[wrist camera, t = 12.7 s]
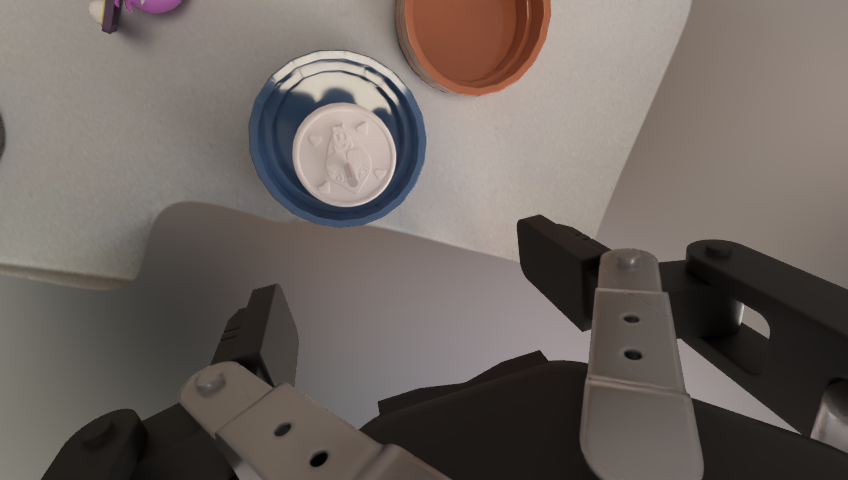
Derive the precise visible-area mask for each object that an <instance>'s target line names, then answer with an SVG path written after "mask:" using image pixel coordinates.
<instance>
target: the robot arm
mask: <svg viewBox="0 0 848 480" xmlns="http://www.w3.org/2000/svg"><path fill="white" fill-rule="evenodd" d="M3 143H4V134H3V127H2V123H1V120H0V156H1V153H2V149H3ZM517 235H518V246H519V256H520V264H521V268H522V271H523V273H524V275H525V277H526V278H527V279H528V280H529V281H530V282H531V283H532V284H533V285H534V286H535V287H536V288H537V289H538V290H539V291H540V292H541V293H542V294H544V295H545V297H547V298H548V299H549V300H550V301H551V302H552V303H553V304H554V305H555V306H556V307H557V308H558V309H559V310H560V311H561V312H562V313H563V314H564V315H565V316H566V317H567V318H568V319H570V321H571V322H573V323H574V324H575V325H576V326H577V327H578V328H579V329H580V330H581V331H582V332H584V331H587V330H590V329H592V330H591V341H590V352H589V362H588V364H587V363H582V362H576V361H565V360H560V361H559V360H558V361H557V360H556V361H548V360H547V359H546V357H545V356H544V355H543V354H542V352H541V351H540V350H538V351H535V352H532V353H529V354H526V355H523V356H519V357H516V358H513V359H510V360H507V361H504V362H501V363H499V364H498V365H496V366H494V367H492V368H490V369H489V370H487V371H485V372H483V373H482V374H480V375H478V376H476V377H474V378H473V379H471V380H469V381H467V382H465V383H460V384H452V385H443V386H434V387H426V388H419V389H415V390H412V391H409V392H406V393H403V394H400V395H397V396H393V397H390V398H387V399H384V400H381V401H378V407H379V412H380V415H379V416H377V417H375V418H374V419H372V420H371V421H370V422H368V423H367V424H365V425H364V426H363V427H362V428H360V429H359V430H358V429H356V428H355V427H353V426H351V425H350V424H349V423H347V422H346V421H344V420H343V419H341V418H340V417H338V416H337V415H335V414H334V413H332V412H331V411H329V410H328V409H326V408H325V407H323V406H322V405H320V404H319V403H317V402H316V401H314V400H313V399H311V398H310V397H308V396H306V395H305V394H304V393H302V392H300V391H299V390H297V389H296V388H294V385H295V374H296V365H297V355H298V345H299V342H298V341H299V340H298V333H297V329H296V325H295V323H294V320H293V317H292V315H291V312H290V309H289V307H288V304H287V301H286V299H285V296H284V293H283V291H282V289H281V287H280V285H279V284H273V285H270V286H266V287H262V288H258V289H255V290H253V291H252V294H251V297H250V300H249V303H248V305H247V307H246V308H243V309H239V310H238V311H237V312H236V313H235V314H234V315H233V316H232V317H231V318H230V319H229V320H228V323H227V325H226V327H225V330H224V333H223V335H222V337H221V340H220V341H221V342H220V343H219V345H218V347H217V350H216V352H215V355H214V357H213V359H212V362H211V364H210V366H209V367H207V368H205V369H203V370H201V371H200V372H198V373H196V374H195V375H194V376H192V377H191V378H190V379H189V380H188V381H187V382H186V383H185V384H184V385H183V386H182V388H181V389H180V391H179V394H178V400H179V403H177V404H175V405H173V406H172V407H170V408H168V409H166V410H164V411H162V412H159V413H158V414H156V415H153V416H151V417H149V418H147V419H145V420H143V421H141V419H140V418H139V416H138V415H137V413H136V412H135V411H134V410H132V409H120V410H116V411H112V412H110V413H107V414H105V415H103V416H100V417H99V418H97V419H95V420H93V421H92V422H90V423H88V424H87V425H85V426H84V427H82V428H81V429H80V430H79V431H77V432H76V433H75V434H74V435H73V436H72V437H71V438H70V439H69V440H68V441H67V442H66V443H65V444H64V446H63V447H62V448H61V450H60V452H59V453H58V455H57V456H56V458H55V459H54V461H53V462H52V464H51V465H50V467H49V468H48V470H47V471H46V473H45V474H44V476H43V477H42V479H41V480H848V290H847V289H845V288H843V287H840V286H838V285H836V284H833V283H831V282H828V281H826V280H824V279H822V278H819V277H816V276H814V275H812V274H810V273H807V272H805V271H803V270H800V269H798V268H796V267H793V266H791V265H788V264H786V263H784V262H781V261H779V260H777V259H774V258H772V257H770V256H767V255H765V254H762V253H760V252H758V251H755V250H753V249H751V248H748V247H746V246H744V245H741V244H738V243H735V242H731V241H725V240H700V241H696V242H694V243H691V244H690V245H688V246H687V250H686V260H680V261H670V262H658V260H657V258H656V257H655V256H654V255H652V254H650V253H648V252H646V251H642V250H638V249H629V248H626V249H625V248H624V249H615V250H611V249H609V248H607V247H605V246H604V245H602V244H600V243H599V242H597V241H595V240H594V239H590V237H588V236H587V235H585V234H582V233H581V232H580V231H578V230H576V229H574V228H573V227H569V226H565V225H561V224H556V223H554V222H552V221H551V220H549V219H547V218H546V217H544V216H542V215H536V216H532V217H528V218H524V219H521V220H519V221H518V222H517ZM744 305H746V306H748V307H750V308H751V309H753V310H755V311H757V312H758V313H760V314H761V315H762V316H763V317H764V318H765V319H766V321H767V322H768V325H769V327H770V337H769V339H768V338H766V337H765V336H763V335H761V334H760V333H758V332H756V331H755V330H753V329H752V328H750V327H748V326H747V325H745V324H744V323H742V322H741V320H742V314H743V308H744ZM677 339H682V340H683V341H684V342H685V343H686V344H688V345H689V346H690V347H691V348H693V349H694V350H695V351H696V352H698V353H699V354H700V355H702V356H703V357H704V358H705V359H707V360H708V361H709V362H710V363H712V364H713V365H714V366H716V367H717V368H718V369H719V370H721V371H722V372H723V373H725V374H726V375H727V376H728V377H730V378H731V379H732V380H733V381H735V382H736V383H737V384H738V385H740V386H741V387H742V388H743V389H745V390H746V391H747V392H749V393H750V394H751V395H752V396H754V397H755V398H756V399H757V400H759V401H760V402H761V403H763V404H764V405H765V406H766V407H768V408H769V409H770V410H771V411H773V412H774V413H775V414H777V415H778V416H779V417H780V418H782V419H783V420H784V421H785V422H787V423H788V424H789V425H790V426H792V427H793V428H794V429H795V430H797V431H798V432H800V433H801V434H802V435H801V434H798V433H795V432H792V431H789V430H786V429H783V428H780V427H777V426H774V425H771V424H768V423H765V422H762V421H759V420H756V419H753V418H750V417H747V416H744V415H741V414H738V413H735V412H732V411H730V410H726V409H724V408H721V407H718V406H715V405H711V404H709V403H705V402H702V401H700V400H697V399H693V398H691V397H690V395H689V394H688V393H687V392H686V389H685V384H684V378H683V373H682V367H681V362H680V356H679V350H678V345H677Z"/></svg>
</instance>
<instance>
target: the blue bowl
mask: <svg viewBox="0 0 848 480" xmlns="http://www.w3.org/2000/svg"><path fill="white" fill-rule="evenodd" d="M342 102H345V103H351V104H356V105H360V106H362V107H364V108H366V109H368V110H370V111H372V112H373V113H374V114H375V115H376V116H377V117H379V118H380V119H381V120H382V121H383V123H384V124H385V126H386V127H387V129H388V130H389V132H390V134H391V136H392V138H393V141H394V145H395V149H396V165H395V170H394V173H393V176H392V178H391V180H390V182H389V184H388V185H387V187H386V188H385V189H384V190H383V192H382V193H381V194H379V195H378V196H377V197H376V198H374V199H373V200H371V201H369V202H367V203H365V204H362V205H358V206H352V207H340V206H334V205H330V204H327V203H325V202H323V201H321V200H319V199H317V198H316V197H315V196H313V195H312V194H311V193H310V192H309V191H308V190H307V189H306V188H305V187H304V186H303V184H302V183H301V181H300V180H299V178H298V176H297V174H296V171H295V168H294V163H293V156H292V152H293V141H294V138H295V135H296V132H297V130H298V128H299V126H300V125H301V123H302V122H303V121H304V119H305V118H306V117H307V116H308V115H310V114H311V113H312V112H314V111H315V110H316V109H318V108H320V107H323V106H325V105H328V104H331V103H342ZM249 146H250V154H251V157H252V160H253V162H254V165H255V168H256V171H257V174H258V176H259V178H260V180H261V181H262V182H263V184H264V185H265V187H266V188H267V189H268V191H269V192H270V194H271V195H272V196H273V197H274V199H275V200H277V201H278V202H279V203H280V204H282V205H283V206H284V207H285V208H286V209H288V210H289V211H290V212H291V213H293V214H295V215H297V216H299V217H301V218H304V219H306V220H308V221H310V222H313V223H316V224H320V225H326V226H332V227H350V226H359V225H364V224H367V223H369V222H372V221H374V220H377V219H379V218H382V217H383V216H385V215H387V214H388V213H389V212H391V211H392V210H393V209H395V208H396V207H397V206H399V205H400V204H401V203H402V202H403V201H404V200H405V198H406V197H407V196H408V194H409V193H410V192H411V190H412V189H413V188H414V186H415V185H416V183H417V180H418V178H419V175H420V172H421V170H422V167H423V165H424V160H425V150H426V133H425V127H424V122H423V116H422V113H421V111H420V109H419V107H418V105H417V103H416V101H415V99H414V96H413V94H412V93H411V91H410V90H409V89H408V88H407V86H406V85H405V84H404V83H403V82H402V81H401V80H400V78H399V77H398V76H397V75H396V74H395V73H394V72H393V71H392V70H390V69H388V68H387V67H385V66H384V65H382V64H381V63H379V62H378V61H376V60H374V59H373V58H371V57H368V56H365V55H361V54H358V53H354V52H351V51H347V50H319V51H315V52H312V53H309V54H306V55H303V56H301V57H298V58H295V59H293V60H291V61H289V62H288V63H287V64H286V65H284V66H283V67H282V68H280V69H279V70H278V71H277V72H275V73H274V74H273V75H271V77H270V78H269V79H268V81H267V82H266V84H265V85H264V87H263V88H262V90H261V91H260V93H259V94H258V96H257V97H256V100H255V103H254V106H253V110H252V114H251V118H250V121H249Z"/></svg>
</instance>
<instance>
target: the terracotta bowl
mask: <svg viewBox="0 0 848 480" xmlns="http://www.w3.org/2000/svg"><path fill="white" fill-rule="evenodd" d="M550 17H551V4H550V0H397V5H396V16H395V22H396V28H397V33H398V39H399V44H400V47H401V49H402V51H403V53H404V55H405V57H406V59H407V61H408V63H409V65H410V66H411V68H412V69H413V70H414V71H415V72H416V73H417V74H418V75H419V76H420V77H421V78H422V79H423V80H424V82H426V83H427V84H429V85H431V86H433V87H435V88H437V89H439V90H440V91H442V92H445V93H452V94H459V95H469V96H481V95H486V94H491V93H496V92H499V91H501V90H503V89H505V88H506V87H508V86H510V85H511V84H513V83H515V82H516V81H518V80H519V79H520V78H521V77H522V76H523V75H524V73H525V72H526V71H527V70H528V69H529V68H530V67H531V66H532V65H533V63H534V62H535V60H536V58H537V56H538V54H539V52H540V50H541V48H542V46H543V44H544V42H545V40H546V36H547V31H548V26H549V21H550Z"/></svg>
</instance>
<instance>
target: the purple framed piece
mask: <svg viewBox="0 0 848 480" xmlns="http://www.w3.org/2000/svg"><path fill="white" fill-rule="evenodd" d="M181 1H182V0H125V5H126V8H127V9H128V10H129V11H130V12H131V13H132V9H131V4H132V5H133V6H135V7H136V8H138V9H140V10H142V11H145V12H149V13H164V12H167V11H170V10H172V9H174V8H175V7H176V6H178V5H179V4H180V3H181ZM120 3H121V0H94V1H92V2H91V3H90V4H89V6H88V11H89V14H90V16H91V17H92V18H93V19H94V20H95V21H96V22H97V23H99V24H101V26H102V31H103V32H106V33H109V34H111V33H113V32H115V31H117V25H118V18H119V11H120Z"/></svg>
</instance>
